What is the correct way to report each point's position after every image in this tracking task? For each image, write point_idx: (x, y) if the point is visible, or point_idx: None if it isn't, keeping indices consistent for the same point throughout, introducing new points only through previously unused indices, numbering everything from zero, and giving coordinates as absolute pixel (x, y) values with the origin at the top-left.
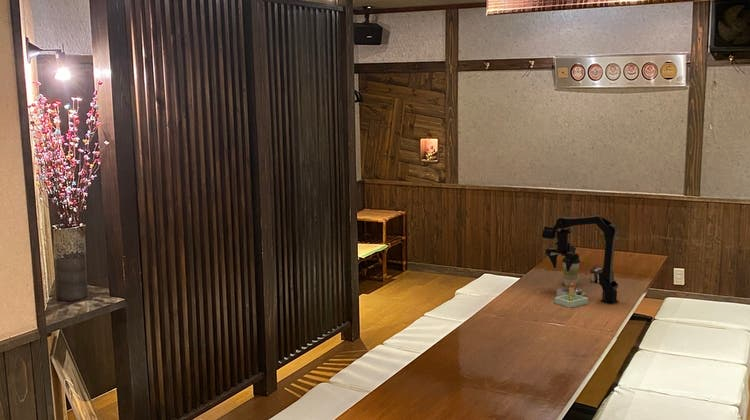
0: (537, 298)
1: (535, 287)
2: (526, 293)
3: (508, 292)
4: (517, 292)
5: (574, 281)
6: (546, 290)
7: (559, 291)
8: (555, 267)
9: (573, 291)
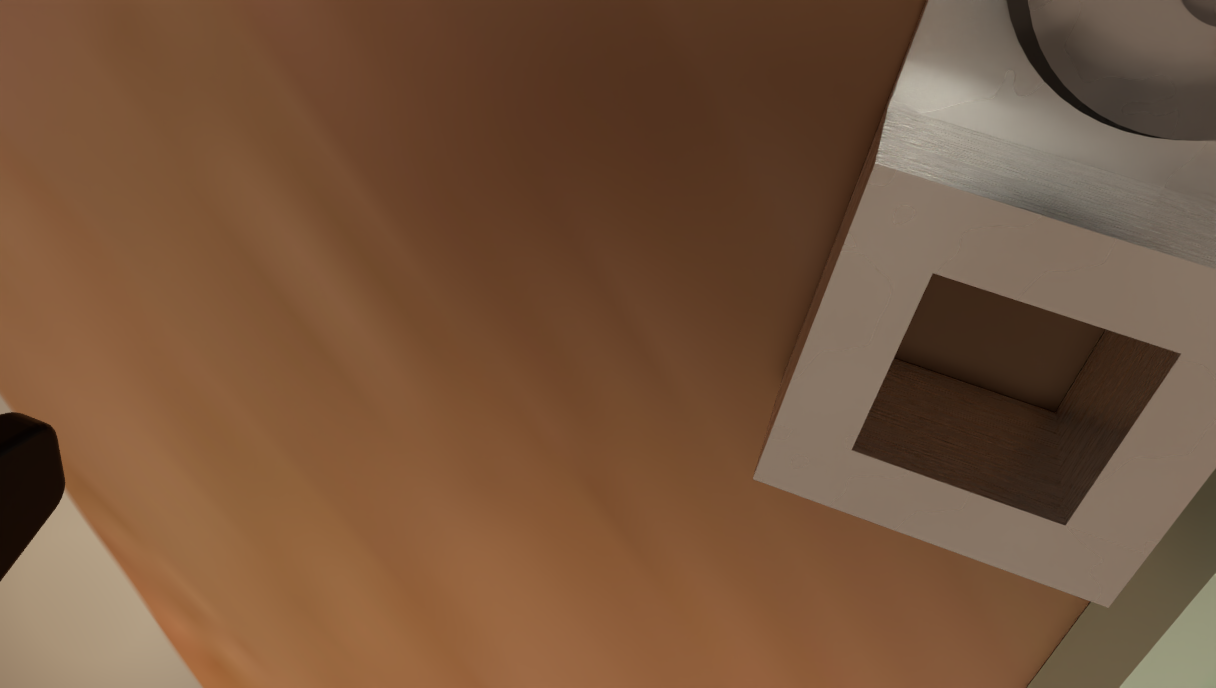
0: (592, 643)
1: (47, 3)
2: (287, 480)
3: (116, 550)
4: (174, 495)
5: None
6: (346, 74)
7: (850, 497)
8: (39, 465)
9: None
